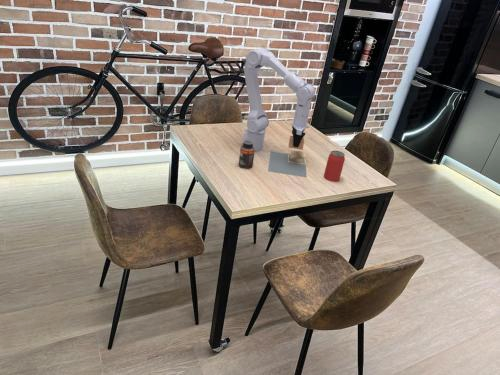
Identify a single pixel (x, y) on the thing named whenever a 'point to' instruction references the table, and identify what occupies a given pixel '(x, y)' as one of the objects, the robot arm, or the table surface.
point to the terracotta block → (299, 144)
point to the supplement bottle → (246, 155)
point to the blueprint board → (286, 165)
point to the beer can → (334, 166)
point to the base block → (297, 156)
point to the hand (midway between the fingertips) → (295, 144)
